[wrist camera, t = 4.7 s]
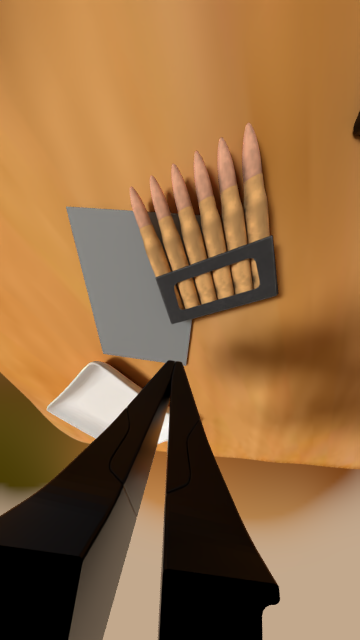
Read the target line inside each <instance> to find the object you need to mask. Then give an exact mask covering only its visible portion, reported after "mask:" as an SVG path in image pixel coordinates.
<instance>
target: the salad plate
mask: <svg viewBox="0 0 360 640" xmlns="http://www.w3.org/2000/svg"><path fill="white" fill-rule="evenodd" d="M141 390H142V388H141V387H139V386H138V385H136V384H135V383H134V382H132V381H131V380H130V379H128V378H127V377H126V376H124V375H123V374H122V373H120V372H119V371H118V370H116V369H115V368H113V367H112V366H110V365H109V364H107V363H104V362H100V361H94V362H91V363H89V364H88V365H86V366H85V367H84V368H83V369H82V371H81V372H80V373H79V374H78V375H77V376H76V378H75V379H74V380H73V381H72V382H71V383H70V384H69V386H68V387H67V388H66V389H65V390H64V391H63V392H62V393H61V394H60V395H59V396H58V397H57V398H56V399H55V400H54V401H52V402H51V403H50V404H49V405H48V407H47V411H48V412H50V413H52V414H53V415H55V416H57V417H59V418H60V419H62V420H64V421H65V422H67V423H69V424H71V425H72V426H74V427H76V428H78V429H79V430H81V431H83V432H85V433H87V434H88V435H90V436H92V437H94V438H97V437H98V436H99V435H100V434H101V433H102V432H103V431H104V430H105V429H106V428H107V427H108V426H109V425H110V424H111V423H112V422H113V421H114V420H115V419H116V418H117V417H118V416H119V415H120V414H121V413H122V411H123V410H124V409H125V408H127V406H128V405H129V404H130V403H131V401H132V400H133V399H134V398H135V397H136V396H137V395H138V394H139V392H140V391H141ZM169 409H170V407H168V408H167V412H166V415H165V419H164V422H163V426H162V430H161V433H160V437H159V440H158V444H159V443H162V442H164V441H167V440H168V429H169Z"/></svg>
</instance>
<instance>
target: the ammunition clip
mask: <svg viewBox="0 0 360 640" xmlns="http://www.w3.org/2000/svg"><path fill="white" fill-rule="evenodd" d="M242 170H243V181H244V185H243V186H244V212H243V207H242V204H241V201H240V198H239V192H238V186H237V182H236V175H235V169H234V165H233V161H232V157H231V154H230V151H229V149H228V146H227V144H226V142H225V140H224V139H223V138H222V137H221V138H220V140H219V145H218V180H219V187H220V197H221V204H222V222H223V228H224V234H225V240H226V245H225V240H224V234H223V229H222V223H221V218H220V215H219V213H218V210H217V207H216V203H215V198H214V196H213V191H212V186H211V182H210V178H209V175H208V171H207V169H206V166H205V163H204V161H203V159H202V157H201V155H200V154H199V152H198V151H196V152H195V155H194V179H195V187H196V193H197V198H198V203H199V204H198V205H199V210H200V215H201V228H202V232H203V237H204V241H205V246H206V250H207V254H208V257H207V255H206V251H205V247H204V242H203V238H202V234H201V230H200V227H199V224H198V222H197V220H196V217H195V214H194V210H193V207H192V204H191V200H190V197H189V193H188V190H187V187H186V185H185V182H184V180H183V177H182V175H181V173H180V171H179V169H178V168H177V166H176V165H175V164H172V171H171V174H172V186H173V193H174V198H175V203H176V207H177V210H178V216H179V220H180V224H181V233H182V238H183V241H184V245H185V248H186V252H187V255H188V259H189V262H190V264H188V261H187V257H186V254H185V251H184V247H183V244H182V241H181V237H180V235H179V233H178V230H177V228H176V226H175V224H174V221H173V218H172V216H171V213H170V209H169V206H168V204H167V201H166V198H165V196H164V194H163V192H162V190H161V188H160V186H159V184H158V182H157V181H156V179H155V178H154V177H153V176H152V175H151V176H150V189H151V195H152V201H153V205H154V209H155V212H156V216H157V219H158V223H159V226H160V230H161V234H162V240H163V244H164V247H165V250H166V253H167V256H168V259H169V262H170V265H171V268H172V271H171V269H170V266H169V263H168V261H167V258H166V255H165V252H164V249H163V246H162V244H161V242H160V240H159V238H158V236H157V234H156V232H155V229H154V227H153V225H152V223H151V220H150V217H149V215H148V212H147V210H146V208H145V206H144V204H143V202H142V200H141V198H140V197H139V195H138V193H137V192H136V191H135V189H134V188H133V187H130V198H131V204H132V208H133V212H134V215H135V218H136V221H137V224H138V227H139V229H140V233H141V236H142V239H143V243H144V247H145V251H146V254H147V256H148V259H149V261H150V264H151V266H152V269H153V271H154V274H155V276H156V278H155V279H156V282H157V285H158V287H159V290H160V293H161V296H162V299H163V302H164V304H165V307H166V310H167V313H168V316H169V319H170V322H171V324H175V323H179V322H182V321H186V320H190V319H193V318H197V317H201V316H204V315H208V314H212V313H215V312H219V311H223V310H226V309H230V308H234V307H237V306H241V305H245V304H248V303H252V302H256V301H259V300H263V299H267V298H270V297H274V296H277V294H278V285H277V275H276V265H275V255H274V245H273V236H272V235H271V236H270V232H269V216H268V201H267V195H266V192H265V188H264V181H263V174H262V165H261V156H260V150H259V145H258V141H257V138H256V135H255V132H254V129H253V127H252V125H251V124H250V123H247V125H246V128H245V133H244V139H243V151H242ZM244 218H245V220H244ZM245 227H246V228H245ZM226 246H227V250H226ZM229 265H230V267H229ZM230 269H231V272H230ZM211 272H212V276H211ZM231 275H232V278H231ZM193 277H194V280H195V283H196V287H197V291H198V294H199V297H198V294H197V291H196V287H195V284H194V281H193ZM212 277H213V280H212ZM213 281H214V284H213ZM232 281H233V283H232ZM176 283H177V285H178V288H179V291H180V294H181V297H182V300H183V303H184V304H183V303H182V300H181V297H180V294H179V292H178V289H177V286H176ZM214 285H215V288H214ZM233 287H234V288H233ZM215 290H216V292H215ZM216 294H217V295H216ZM199 298H200V300H199Z"/></svg>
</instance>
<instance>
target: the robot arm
mask: <svg viewBox="0 0 360 640" xmlns="http://www.w3.org/2000/svg"><path fill="white" fill-rule="evenodd" d="M354 133H355V134H357V135H360V112H359V114H358V117H357V119H356V121H355V124H354ZM169 401H170V409H169V429H168V449H167V469H166V489H165V508H164V528H163V548H162V569H161V588H160V589H161V590H160V609H159V627H158V628H159V629H158V640H262V613H263V610H264V609H265V607H267V606H269V605H276V604H277V603H279V601H280V597H279V596H280V595H279V586H278V585H277V583H276V581H275V580H274V578H273V576H272V575H271V573H270V571H269V570H268V568H267V566H266V564H265V563H264V561H263V559H262V558H261V556H260V554H259V553H258V551H257V549H256V547H255V546H254V544H253V542H252V540H251V538H250V536H249V534H248V532H247V530H246V528H245V526H244V524H243V522H242V520H241V517H240V516H239V513H238V511H237V509H236V506H235V504H234V502H233V499H232V497H231V495H230V493H229V490H228V488H227V486H226V483H225V481H224V479H223V476H222V474H221V472H220V469H219V467H218V465H217V463H216V460H215V458H214V455H213V453H212V450H211V448H210V445H209V443H208V440H207V437H206V434H205V431H204V428H203V425H202V422H201V420H200V416H199V413H198V410H197V407H196V404H195V401H194V397H193V394H192V391H191V388H190V385H189V382H188V379H187V376H186V373H185V369H184V366H183V363H182V362H180V361H173V360H168V361H167V362H166V363H165V364H164V365H163V367H162V368H161V369H160V370H159V371H158V372H157V373H156V374H155V376H154V377H153V378H152V379H151V380H150V381H149V382H148V383H147V385H146V386H145V387H144V388H143V389H142V390H141V391H140V392H139V394H138V395H137V396H136V397H135V398H134V399H133V400H132V401H131V403H130V404H129V405H128V406H127V408H125V409H124V410H123V411H122V413H121V414H120V415H119V416H118V417H117V418H116V419H115V420H114V421H113V422H112V423H111V424H110V425H109V426H108V427H107V428H106V429H105V430H104V431H103V432H102V433H101V434H100V435H99V436H98V437H97V438H96V439H95V440H94V441H93V442H92V443H91V444H90V445H89V446H88V447H87V448H86V449H85V450H84V451H83V452H81V453H80V454H79V455H78V456H77V457H76V458H75V459H74V460H73V461H72V462H71V463H70V464H69V465H68V466H67V467H66V468H65V469H63V470H62V471H61V472H60V473H59V474H58V475H57V476H56V477H55V478H54V479H52V480H51V481H50V482H49V483H48V484H46V485H45V486H44V487H43V488H41V489H40V490H39V491H37V492H36V493H35V494H33V495H32V496H30V497H29V498H27V499H26V500H24V501H23V502H21V503H20V504H18V505H17V506H15V507H13V508H12V509H10V510H9V511H7V512H6V513H4V514H3V515H1V516H0V640H102V639H103V635H104V632H105V629H106V625H107V622H108V618H109V615H110V611H111V607H112V603H113V600H114V597H115V593H116V590H117V586H118V583H119V579H120V575H121V572H122V568H123V565H124V561H125V557H126V554H127V550H128V547H129V543H130V540H131V536H132V532H133V529H134V526H135V522H136V517H137V515H138V511H139V508H140V504H141V500H142V497H143V493H144V490H145V486H146V483H147V479H148V476H149V472H150V469H151V465H152V462H153V458H154V454H155V451H156V447H157V444H158V440H159V437H160V433H161V430H162V426H163V422H164V419H165V415H166V412H167V408H168V405H169Z"/></svg>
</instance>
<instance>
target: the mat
mask: <svg viewBox="0 0 360 640" xmlns="http://www.w3.org/2000/svg"><path fill="white" fill-rule="evenodd" d="M66 209H67V213H68V217H69V221H70V225H71V228H72V232H73V236H74V240H75V244H76V248H77V252H78V256H79V260H80V264H81V268H82V272H83V276H84V280H85V284H86V287H87V291H88V295H89V299H90V303H91V307H92V311H93V315H94V319H95V323H96V327H97V331H98V335H99V339H100V343H101V346H102V350H103V354H108V355H115V356H122V357H129V358H136V359H143V360H150V361H157V362H164V363H166V362H167V361H168V360H173V361H180V362H182V363H183V365H185V366H186V362H187V354H188V346H189V339H190V331H191V323H192V319H190V320H186V321H182V322H179V323H175V324H171V322H170V319H169V316H168V313H167V310H166V307H165V304H164V302H163V299H162V296H161V293H160V290H159V287H158V285H157V282H156V279H155V278H156V276H155V274H154V271H153V269H152V266H151V264H150V261H149V259H148V256H147V254H146V251H145V247H144V243H143V239H142V236H141V233H140V229H139V227H138V224H137V221H136V218H135V215H134V212H133V211H127V210H111V209H95V208H80V207H66ZM148 215H149V217H150V220H151V223H152V225H153V227H154V229H155V232H156V234H157V236H158V238H159V240H160V242H161V244H162V246H163V249H164V252H165V255H166V258H167V261H168V263H169V266H170V269H171V271H172V268H171V265H170V262H169V259H168V256H167V253H166V250H165V247H164V244H163V240H162V234H161V230H160V226H159V223H158V219H157V216H156V212H148ZM171 216H172V218H173V221H174V224H175V226H176V228H177V230H178V233H179V235H180V237H181V241H182V244H183V247H184V251H185V254H186V257H187V261H188V264H190V262H189V259H188V255H187V252H186V248H185V245H184V241H183V238H182V233H181V224H180V220H179V216H178V214H175V213H171ZM195 217H196V220H197V222H198V224H199V227H200V230H201V234H202V238H203V232H202V228H201V215H195ZM193 281H194V284H195V287H196V283H195V280H194V277H193ZM176 286H177V289H178V292H179V294H180V291H179V288H178V285H177V283H176ZM180 297H181V294H180ZM181 300H182V297H181ZM182 303H183V300H182ZM183 304H184V303H183Z"/></svg>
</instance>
